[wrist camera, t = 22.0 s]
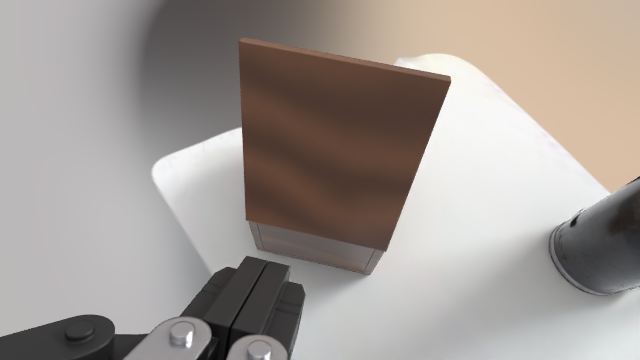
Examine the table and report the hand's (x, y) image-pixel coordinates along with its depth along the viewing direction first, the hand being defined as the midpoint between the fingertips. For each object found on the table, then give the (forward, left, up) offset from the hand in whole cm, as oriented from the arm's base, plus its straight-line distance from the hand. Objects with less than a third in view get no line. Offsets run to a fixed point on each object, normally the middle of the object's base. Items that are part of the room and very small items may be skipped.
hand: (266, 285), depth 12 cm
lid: (0, -13, -12) cm, 18 cm away
